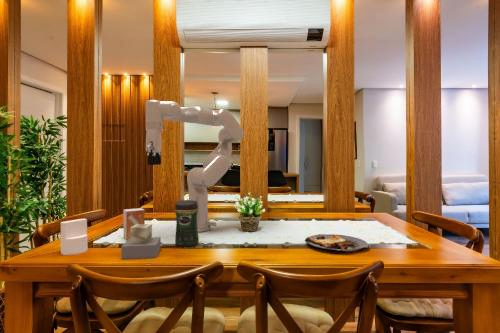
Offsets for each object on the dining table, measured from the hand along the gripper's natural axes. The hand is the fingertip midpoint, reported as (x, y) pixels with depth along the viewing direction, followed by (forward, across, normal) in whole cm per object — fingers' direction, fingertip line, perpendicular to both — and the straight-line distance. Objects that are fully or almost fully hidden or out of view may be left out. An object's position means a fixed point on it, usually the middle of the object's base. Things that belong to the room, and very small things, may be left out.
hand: (154, 164), depth 141 cm
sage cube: (+29, +26, +2) cm, 39 cm away
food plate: (+34, +17, +79) cm, 88 cm away
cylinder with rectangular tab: (+34, +22, -25) cm, 47 cm away
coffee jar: (+34, +13, +17) cm, 40 cm away
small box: (+34, +2, -9) cm, 35 cm away
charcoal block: (+34, +26, +2) cm, 42 cm away
